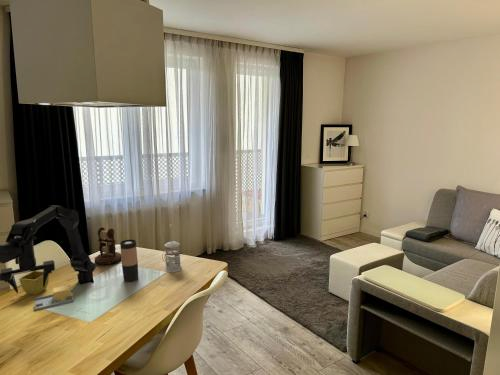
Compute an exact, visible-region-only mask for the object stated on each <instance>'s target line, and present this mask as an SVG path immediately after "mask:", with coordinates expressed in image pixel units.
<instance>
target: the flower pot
mask: <svg viewBox="0 0 500 375" xmlns="http://www.w3.org/2000/svg"><path fill="white" fill-rule="evenodd" d="M49 277H50V273H49V274H48V277H47V279H46V283H45V287H43V271H42V270H37V271H32V272H28V273H27V274H25V275H23V276H21V277H19V278H18V280H19V282H20V286H21V289H22V291H24V292H25V293H26V294H27V295H34V296H35V295H36V296H37V295H39V294H40V293H43V292H44V291H46V289H47V287H48V285H49V279H50V278H49Z"/></svg>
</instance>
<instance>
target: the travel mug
mask: <svg viewBox="0 0 500 375" xmlns="http://www.w3.org/2000/svg"><path fill="white" fill-rule="evenodd" d="M119 244H120V246H119V247H120V254H121V259H120V260H121V267H122V269H121V270H122V277H123V278H122V279H123V281H124V282H125V283H133V282H135V281H138V280H139V262H138V261H139V260H138V251H137V241H136V239H125V240H122V241H120V243H119Z"/></svg>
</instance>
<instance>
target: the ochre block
mask: <svg viewBox="0 0 500 375" xmlns="http://www.w3.org/2000/svg"><path fill="white" fill-rule="evenodd" d="M71 288H72V287H71V284H68V285H64V286H63V285H62V286H58V287H54V288H52V294H53V296H54V300H61V299H66V297H69V296H71V290H72V289H71ZM66 300H67V299H66Z"/></svg>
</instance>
